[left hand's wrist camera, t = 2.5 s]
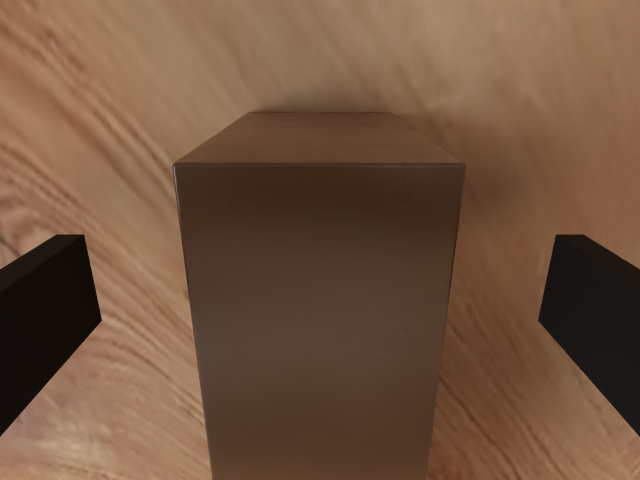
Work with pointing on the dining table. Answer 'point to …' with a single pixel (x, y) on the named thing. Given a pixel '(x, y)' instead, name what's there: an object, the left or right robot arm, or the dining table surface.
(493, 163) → the dining table surface
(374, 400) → the box
